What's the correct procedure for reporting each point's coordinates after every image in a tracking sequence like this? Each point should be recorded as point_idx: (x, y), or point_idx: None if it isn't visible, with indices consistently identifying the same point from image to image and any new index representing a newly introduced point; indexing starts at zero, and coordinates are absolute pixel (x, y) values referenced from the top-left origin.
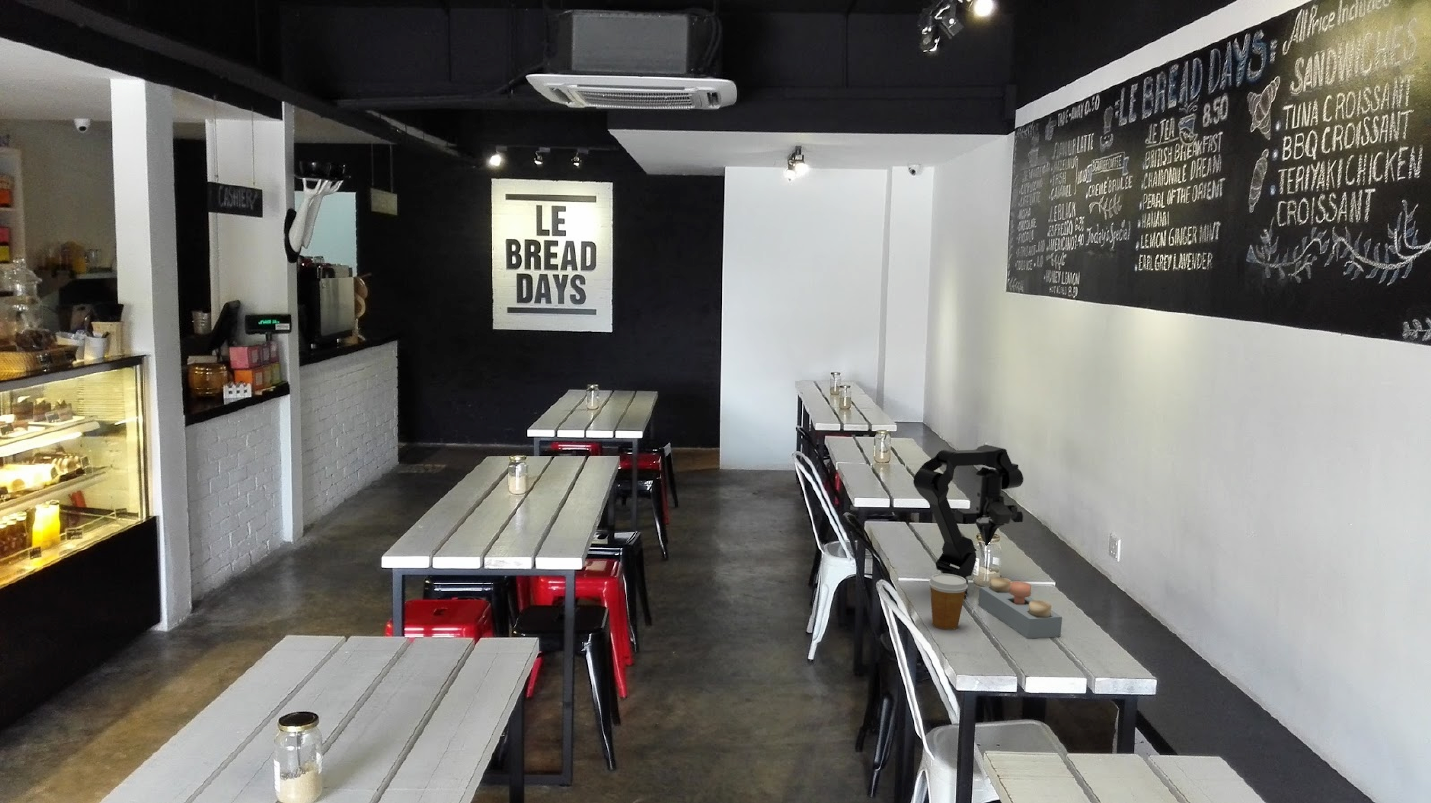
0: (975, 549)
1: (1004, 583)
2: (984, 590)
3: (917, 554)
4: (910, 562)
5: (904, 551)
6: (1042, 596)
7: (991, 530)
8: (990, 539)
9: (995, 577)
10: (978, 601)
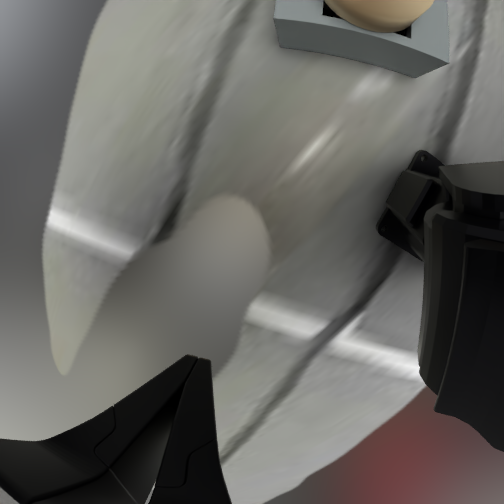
0: (485, 246)
1: None
2: (447, 25)
3: (256, 462)
4: (313, 444)
5: (271, 473)
6: (105, 94)
7: (119, 460)
8: (158, 386)
9: (387, 9)
10: (420, 75)
